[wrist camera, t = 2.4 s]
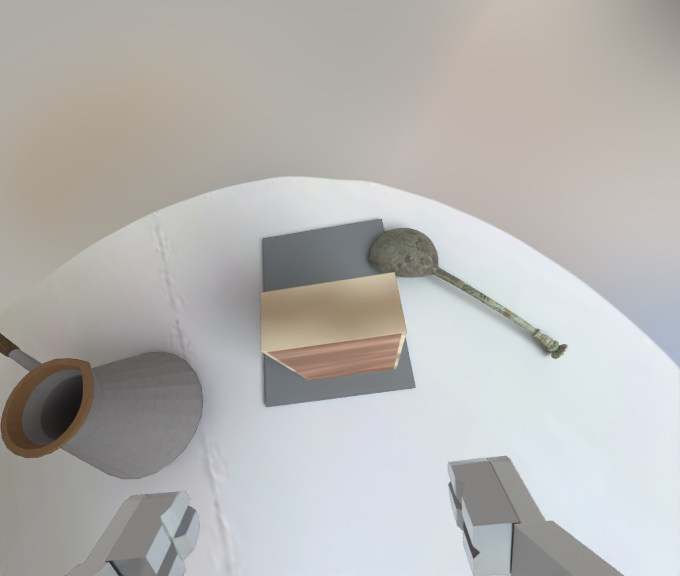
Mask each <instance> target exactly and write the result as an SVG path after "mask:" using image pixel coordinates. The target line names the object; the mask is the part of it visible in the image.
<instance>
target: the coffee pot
mask: <svg viewBox="0 0 680 576" xmlns="http://www.w3.org/2000/svg"><path fill="white" fill-rule="evenodd" d="M0 353H2V354H4V355H5V356H7V357H10V358H12V359H13V360H15V361H16V362H17V363H19V364H20V365H21V366H23V367H24V368H25V369H27V370H28V371H30V372H29V373H28V374H27V375H26V376H25V377H24V378H23V379H22V380H21V381H20V382H19V383H18V385H17V386H16V387H15V388H14V390H13V391H12V393H11V395H10V397H9V398H8V400H7V402H6V405H5V408H4V411H3V414H2V420H1V433H2V439H3V441H4V443H5V445H6V447H7V448H8V449H9V450H10V451H12V452H13V453H14V454H16V455H19V456H22V457H25V458H37V457H41V456H44V455H47V454H50V453H52V452H54V451H56V450H57V449H59V448H62V449H63V450H65V451H67V452H69V453H71V454H72V455H74V456H76V457H78V458H79V459H81V460H83V461H85V462H87V463H88V464H90V465H92V466H94V467H96V468H97V469H99V470H101V471H103V472H105V473H106V474H108V475H111V476H115V477H118V478H121V479H139V478H142V477H145V476H148V475H151V474H154V473H156V472H158V471H160V470H161V469H163V468H164V467H166V466H167V465H169V464H170V463H171V462H173V461H174V460H175V459H176V458H177V456H178V455H179V454H180V453H181V452H182V451H183V450H184V449H185V448H186V447H187V445H188V444H189V442H190V440H191V439H192V437H193V435H194V434H195V432H196V430H197V427H198V424H199V421H200V418H201V415H202V406H203V396H202V388H201V385H200V382H199V380H198V378H197V375H196V373H195V371H194V370H193V369H192V368H191V367H190V365H189V364H188V363H187V362H186V361H184V360H183V359H181V358H179V357H178V356H176V355H174V354H169V353H165V352H152V353H145V354H141V355H138V356H134V357H131V358H127V359H124V360H120V361H117V362H113V363H110V364H106V365H103V366H99V367H95V368H92V369H91V367H90V364H89V362H86V361H82V360H78V359H69V358H66V359H55V360H52V361H49V362H46V363H43V364H41V363H40V362H38V361H36V360H35V359H33V358H32V357H30V356H29V355H27V354H26V353H24V352H22V351H21V350H20V349H19V348H18V347H17V346H16V345H15V344H13V343H12V342H11V341H9V340H8V339H7V338H6V337H4V336H3V335H2V334H1V333H0Z"/></svg>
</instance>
